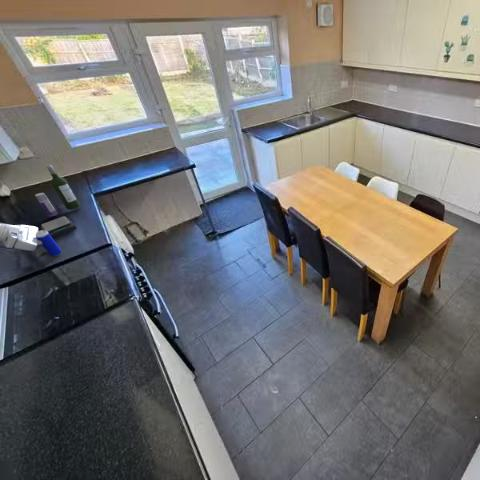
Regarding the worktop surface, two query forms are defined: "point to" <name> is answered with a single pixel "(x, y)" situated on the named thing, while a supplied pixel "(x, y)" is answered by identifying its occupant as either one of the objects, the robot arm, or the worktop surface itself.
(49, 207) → the container
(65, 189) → the wine bottle
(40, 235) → the beverage can
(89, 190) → the worktop surface
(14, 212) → the worktop surface
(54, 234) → the scale
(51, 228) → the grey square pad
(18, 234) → the robot arm
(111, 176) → the worktop surface
